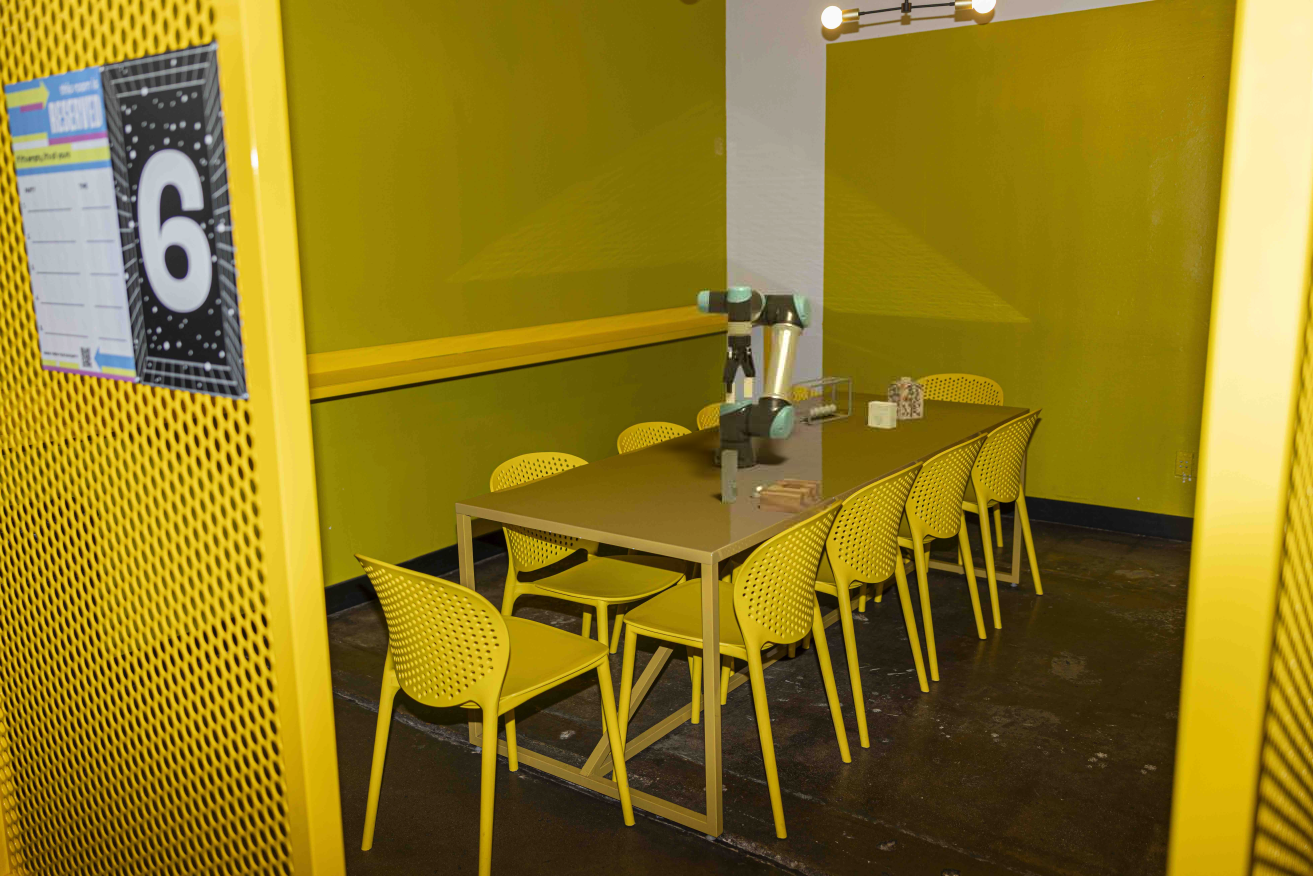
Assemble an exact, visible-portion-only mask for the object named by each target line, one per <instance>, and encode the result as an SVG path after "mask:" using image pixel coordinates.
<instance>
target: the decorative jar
mask: <svg viewBox="0 0 1313 876" xmlns="http://www.w3.org/2000/svg"><path fill="white" fill-rule="evenodd" d="M924 391H925V389H924V387H923V386H922V385H921V383H920V382H918V381H916V380H912V377H910V376H908V377H907V376H901V377H900V380H895V381H893V382H892V383H891V384H890V385H889V386H888V387H887V402H890V403H897V420H899V421H906V420H919V419H920V420H921V419H923V418H924V393H925V392H924Z"/></svg>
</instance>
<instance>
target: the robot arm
mask: <svg viewBox="0 0 1313 876" xmlns="http://www.w3.org/2000/svg"><path fill="white" fill-rule="evenodd" d="M810 304H811V303H810V301H809V299H808V298H807V296H805V295H803V294H763V292H761V291H758V290H752V288H751V287H750V286H748V285H737V286H736V285H734V286H729V287H728V289H727V290H703V291H700V292H699V293H698V295H697V297H696V308H697V310H698V311H699V312H700V313H701V314H711V315H712V314H713V315H714V314H715V315H721V316H727V334H728V336H727V347H729V348H731V351H730V350H729V351H727V352H726V360H725V366H724V370H723V375H722V383H724V384H725V401H723V402H722V403H721V404H720V405H719V407H718V408H719V412H718V430H719V431H718V433H719V435H718V438H719V443H718V447H717V449H716V453H715V455H714V465H715V466H718V467H721V468H722V452H723V451H725V450H735V451H737V467H744V468H748V467H747V466H750V467H753V466H752V465H754V466H755V464H756V465H757V455H756V452H755V449H754V446H753V443H752V438H765V439H772V440H775V439H778V440H779V439H780V440H781V439H785V438H787V437H788V436H789V435H790V434H791V433H792V430H793V428H794V424H795V423H794V420H796V418H795V415H796V412H795V408H794V409H793V407H791V401H790V400H789V394H790V387H791V381H792V375H793V370H794V364H795V357H796V351H797V345H798V339H799V337H801V336H802V335H803V334H804V330H805V329H806V328H809V327H810V326H811V323H812V310H811V305H810ZM752 324H754V325H758V326H762V327H769V328H770V327H771V328H770V329H771V331H772V332H773V333H774V336H773V341H772V345H771V353H770V358H769V363H768V368H767V376H766V381H765V386H764V391H763V392H764V393H763V395H761V396H760V397H758V402H757V403H756V404H754V403H753V402H752V399H750V398H753V378H756V373H757V372H756V368H755V364H754V359H753V353H752V347H751V346H752V336H751V335H750V334H752V327H753V325H752ZM740 366H741V369H742V371H743V373H744V377H743V397H744V398H743V399H742V398H741V399H735V398H736V397H735V396H736V391H735V390H736V387H735V385H736V384H735V382H734V381H735V379H736V378H735V377H736V375H737V373H738V369H739V367H740ZM747 398H749V399H747Z"/></svg>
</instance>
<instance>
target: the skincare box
mask: <svg viewBox="0 0 1313 876" xmlns="http://www.w3.org/2000/svg"><path fill="white" fill-rule="evenodd" d="M867 414H868V417H867V418H868V419H867V422H868V423H867V427H868V426H871V428H877V427H878V429H888V430H889V429H893V428H897V420H898V419H897V403H890V402H888V401H877V400H874V401H869V402H868V413H867Z"/></svg>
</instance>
